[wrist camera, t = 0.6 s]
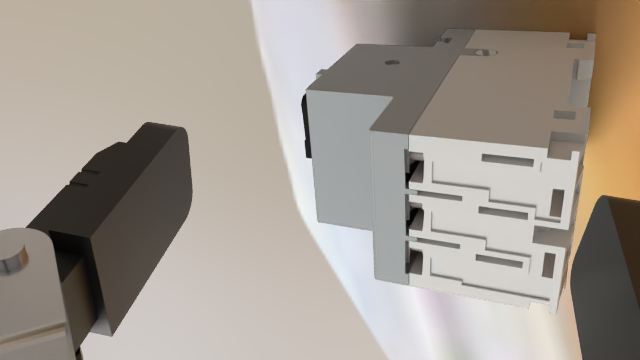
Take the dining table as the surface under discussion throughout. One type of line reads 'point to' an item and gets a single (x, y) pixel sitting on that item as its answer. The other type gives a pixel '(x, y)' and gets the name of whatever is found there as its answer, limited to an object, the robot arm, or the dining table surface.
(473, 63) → the circuit breaker
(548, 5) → the dining table surface
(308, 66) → the dining table surface
